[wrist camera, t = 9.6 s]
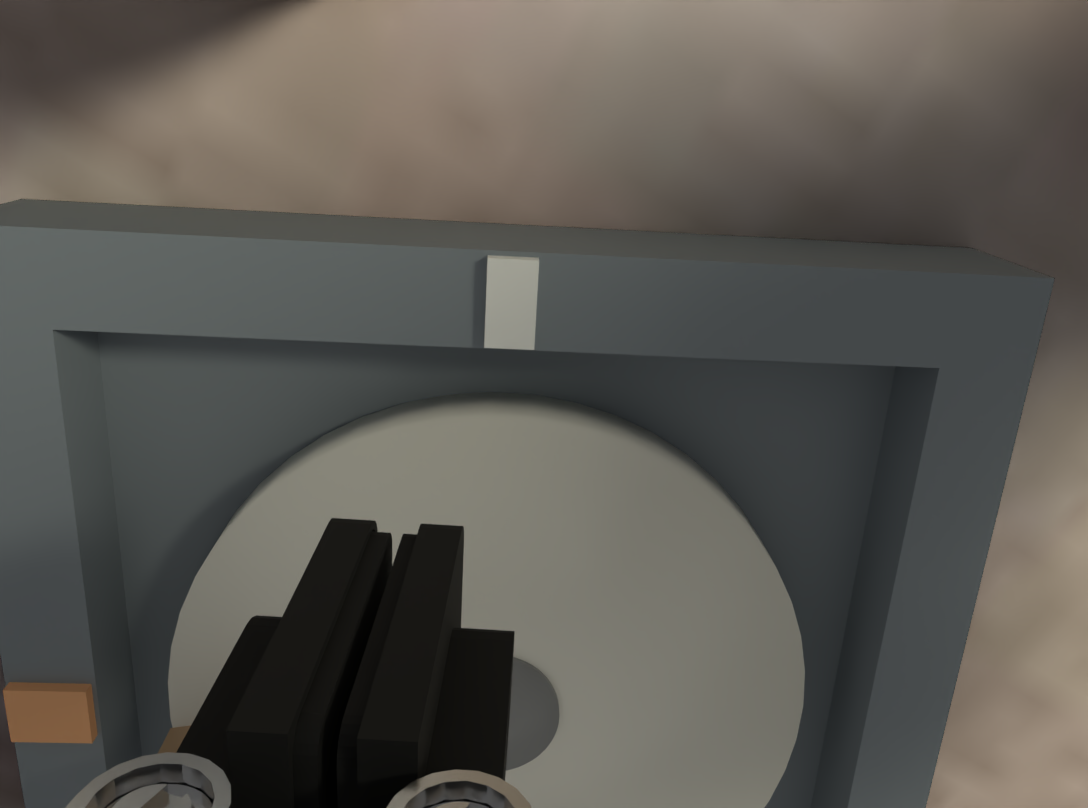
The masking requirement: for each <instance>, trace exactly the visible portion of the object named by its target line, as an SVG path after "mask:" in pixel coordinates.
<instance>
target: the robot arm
mask: <svg viewBox="0 0 1088 808" xmlns="http://www.w3.org/2000/svg"><path fill="white" fill-rule="evenodd" d="M463 555H464V527H463V526H454V525H438V524H420V527H419V530H418V533H417V534H403V535H402V538H401V541H400V544H399V547H398V550H397V553H396V556H395V559H394V562H393V566H392V535H391V533H386V532H378V530H377V523H376V521H373V520H357V519H341V518H331V520H330V521H329V523H328V525H327V527H326V529H325V531H324V533H323V535H322V537H321V539H320V541H319V543H318V545H317V547H316V549H315V551H314V553H313V555H312V557H311V559H310V561H309V563H308V565H307V567H306V569H305V572H304V574H303V576H302V578H301V580H300V582H299V584H298V586H297V588H296V590H295V592H294V594H293V596H292V598H291V600H290V602H289V604H288V606H287V608H286V610H285V612H284V614H283V616H282V617H275V616H258V615H256V616H254V617H252V618H251V619H250V620H249V622H248V623H247V624H246V626H245V628H244V630H243V632H242V633H241V635H240V637H239V639H238V641H237V643H236V644H235V646H234V648H233V650H232V652H231V654H230V655H229V657H228V659H227V661H226V663H225V664H224V666H223V668H222V670H221V672H220V674H219V675H218V677H217V679H216V681H215V683H214V684H213V686H212V688H211V690H210V692H209V694H208V695H207V697H206V699H205V701H204V703H203V705H202V706H201V708H200V710H199V712H198V714H197V715H196V717H195V719H194V721H193V723H192V725H191V726H190V728H189V730H188V732H187V734H186V735H185V737H184V739H183V741H182V743H181V745H180V746H179V748H178V750H177V752H176V753H171V752H165V753H159V754H153V755H146V756H141V757H138V758H135V759H133V760H130V761H127V762H124V763H121V764H118V765H116V766H115V767H113V768H111V769H109V770H108V771H106V772H104V773H103V774H101V775H99V776H97V777H96V778H94V779H93V780H92V781H91V782H90V783H89V784H88V785H87V786H86V787H84V788H83V789H82V790H81V791H80V792H79V793H78V794H77V795H76V796H75V797H74V798H73V799H72V801H71V802H70V803H69V804H68V805H67V806H66V807H65V808H531V805H530V803H529V802H528V801H527V800H526V799H525V797H524V796H523V795H522V794H521V793H520V792H519V790H518V789H517V788H515V787H514V786H512V785H510V784H509V783H507V782H506V781H505V775H506V762H507V748H508V734H509V719H510V703H511V687H512V670H513V653H514V635H515V631H505V630H488V629H472V628H461V613H462V584H463Z"/></svg>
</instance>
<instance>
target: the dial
mask: <svg viewBox="0 0 1088 808" xmlns="http://www.w3.org/2000/svg"><path fill="white" fill-rule="evenodd" d="M331 518H341V519H357V520H373V521H376V523H377V530H378V532H386V533H391V535H392V566H393V562H394V559H395V556H396V553H397V550H398V547H399V544H400V541H401V538H402V535H403V534H417V533H418V530H419V527H420V524H438V525H454V526H463V527H464V555H463V584H462V613H461V628H472V629H488V630H505V631H515V635H514V653H513V670H512V687H511V703H510V719H509V734H508V748H507V762H506V775H505V781H506V782H507V783H509V784H510V785H512V786H514V787H515V788H517V789H518V790H519V792H520V793H521V794H522V795H523V796H524V797H525V799H526V800H527V801H528V802H529V803H530V805H531V808H764V807H765V806H766V805H767V803H768V802H769V800H770V798H771V796H772V795H773V793H774V791H775V789H776V787H777V785H778V783H779V781H780V779H781V778H782V776H783V774H784V772H785V770H786V767H787V764H788V761H789V759H790V756H791V753H792V750H793V747H794V745H795V742H796V739H797V734H798V729H799V725H800V720H801V715H802V710H803V702H804V681H805V667H804V657H803V648H802V639H801V634H800V630H799V626H798V623H797V619H796V615H795V612H794V608H793V604H792V601H791V599H790V597H789V594H788V592H787V590H786V588H785V586H784V583H783V581H782V579H781V577H780V574H779V572H778V570H777V568H776V566H775V564H774V563H773V561H772V559H771V557H770V555H769V554H768V552H767V550H766V548H765V546H764V545H763V543H762V541H761V539H760V538H759V536H758V534H757V533H756V531H755V530H754V528H753V527H752V525H751V524H750V522H749V520H748V519H747V517H746V516H745V514H744V513H743V511H742V510H741V508H740V507H739V506H738V504H737V503H736V502H735V501H734V500H733V499H732V498H731V496H730V495H729V494H728V493H727V492H726V491H725V490H724V488H723V487H722V486H721V485H720V484H719V483H718V482H717V481H716V479H715V478H713V477H712V476H711V475H710V474H709V473H708V472H706V471H705V470H704V469H703V468H702V467H701V466H699V465H698V464H697V463H696V462H695V461H694V460H692V459H691V458H690V457H689V456H688V455H687V454H685V453H684V452H682V451H680V450H679V449H677V448H676V447H674V446H673V445H671V444H670V443H668V442H666V441H665V440H663V439H662V438H660V437H659V436H657V435H655V434H654V433H652V432H650V431H648V430H646V429H644V428H642V427H639V426H637V425H635V424H633V423H631V422H629V421H627V420H625V419H622V418H620V417H618V416H616V415H613V414H610V413H607V412H604V411H601V410H597V409H594V408H591V407H588V406H585V405H582V404H579V403H575V402H570V401H565V400H559V399H554V398H549V397H543V396H538V395H531V394H514V393H496V392H484V393H468V394H453V395H443V396H438V397H433V398H428V399H423V400H417V401H412V402H407V403H403V404H399V405H396V406H393V407H390V408H387V409H384V410H381V411H378V412H375V413H372V414H369V415H366V416H363V417H361V418H359V419H356V420H354V421H352V422H350V423H348V424H346V425H344V426H342V427H340V428H338V429H336V430H333V431H331V432H329V433H327V434H325V435H323V436H322V437H320V438H319V439H317V440H316V441H314V442H313V443H311V444H310V445H308V446H307V447H305V448H303V449H302V450H300V451H299V452H297V453H296V454H294V455H293V456H291V457H290V458H289V459H288V460H286V461H285V462H284V463H283V464H282V465H281V466H279V467H278V468H277V469H276V470H275V471H274V472H273V473H271V474H270V475H269V476H268V477H267V478H266V479H265V480H263V481H262V482H261V483H260V484H259V485H258V486H257V488H256V489H255V490H254V491H253V492H252V493H251V495H250V496H249V497H248V498H247V499H246V500H245V501H244V503H243V504H242V505H241V506H240V507H239V508H238V510H237V511H236V512H235V513H234V515H233V516H232V518H231V520H230V521H229V523H228V524H227V526H226V528H225V529H224V531H223V532H222V534H221V535H220V537H219V539H218V540H217V542H216V543H215V545H214V547H213V548H212V550H211V551H210V553H209V555H208V556H207V558H206V560H205V561H204V563H203V565H202V566H201V568H200V570H199V571H198V573H197V574H196V576H195V578H194V581H193V583H192V585H191V588H190V590H189V592H188V594H187V597H186V599H185V601H184V604H183V606H182V608H181V611H180V614H179V618H178V622H177V626H176V630H175V634H174V637H173V641H172V645H171V653H170V664H169V675H168V692H169V707H170V719H171V723H172V727H173V728H170V730H169V732H168V734H167V736H166V738H165V740H164V742H163V744H162V746H161V748H160V750H159V752H158V754H159V753H165V752H171V753H176V752H177V750H178V748H179V746H180V745H181V743H182V741H183V739H184V737H185V735H186V734H187V732H188V730H189V728H190V726H191V725H192V723H193V721H194V719H195V717H196V715H197V714H198V712H199V710H200V708H201V706H202V705H203V703H204V701H205V699H206V697H207V695H208V694H209V692H210V690H211V688H212V686H213V684H214V683H215V681H216V679H217V677H218V675H219V674H220V672H221V670H222V668H223V666H224V664H225V663H226V661H227V659H228V657H229V655H230V654H231V652H232V650H233V648H234V646H235V644H236V643H237V641H238V639H239V637H240V635H241V633H242V632H243V630H244V628H245V626H246V624H247V623H248V622H249V620H250V619H251V618H252V617H254V616H256V615H258V616H275V617H282V616H283V614H284V612H285V610H286V608H287V606H288V604H289V602H290V600H291V598H292V596H293V594H294V592H295V590H296V588H297V586H298V584H299V582H300V580H301V578H302V576H303V574H304V572H305V569H306V567H307V565H308V563H309V561H310V559H311V557H312V555H313V553H314V551H315V549H316V547H317V545H318V543H319V541H320V539H321V537H322V535H323V533H324V531H325V529H326V527H327V525H328V523H329V521H330V520H331Z"/></svg>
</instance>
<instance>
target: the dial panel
mask: <svg viewBox="0 0 1088 808" xmlns="http://www.w3.org/2000/svg"><path fill="white" fill-rule="evenodd" d="M1054 279H1055V278H1052V277H1050V276H1047V275H1044V274H1042V273H1039V272H1036V271H1033V270H1031V269H1028V268H1025V267H1022V266H1020V265H1017V264H1014V263H1011V262H1009V261H1006V260H1003V259H1001V258H998V257H995V256H992V255H990V254H987V253H984V252H981V251H979V250H976V249H973V248H961V247H941V246H922V245H903V244H883V243H864V242H844V241H825V240H806V239H786V238H767V237H747V236H728V235H709V234H689V233H670V232H651V231H631V230H612V229H592V228H573V227H554V226H534V225H515V224H495V223H476V222H457V221H437V220H418V219H399V218H379V217H360V216H340V215H321V214H302V213H282V212H263V211H243V210H224V209H205V208H185V207H166V206H147V205H127V204H108V203H88V202H69V201H50V200H30V199H20V200H16V201H12V202H8V203H4V204H0V655H1V661H2V668H3V674H4V680H5V686H6V687H5V688H4V689H3V696H4V702H5V708H6V714H7V720H8V726H9V733H10V739H11V742H15V748H16V755H17V761H18V767H19V773H20V779H21V786H22V792H23V798H24V804H25V808H65V807H66V806H67V805H68V804H69V803H70V802H71V801H72V799H73V798H74V797H75V796H76V795H77V794H78V793H79V792H80V791H81V790H82V789H83V788H84V787H86V786H87V785H88V784H89V783H90V782H91V781H92V780H93V779H94V778H96V777H97V776H99V775H101V774H103V773H104V772H106V771H108V770H109V769H111V768H113V767H115V766H116V765H118V764H121V763H124V762H127V761H130V760H133V759H135V758H138V757H141V756H146V755H153V754H158V752H159V750H160V748H161V746H162V744H163V742H164V740H165V738H166V736H167V734H168V732H169V730H170V728H173V727H172V723H171V719H170V707H169V692H168V675H169V664H170V653H171V645H172V641H173V637H174V634H175V630H176V626H177V622H178V618H179V614H180V611H181V608H182V606H183V604H184V601H185V599H186V597H187V594H188V592H189V590H190V588H191V585H192V583H193V581H194V578H195V576H196V574H197V573H198V571H199V570H200V568H201V566H202V565H203V563H204V561H205V560H206V558H207V556H208V555H209V553H210V551H211V550H212V548H213V547H214V545H215V543H216V542H217V540H218V539H219V537H220V535H221V534H222V532H223V531H224V529H225V528H226V526H227V524H228V523H229V521H230V520H231V518H232V516H233V515H234V513H235V512H236V511H237V510H238V508H239V507H240V506H241V505H242V504H243V503H244V501H245V500H246V499H247V498H248V497H249V496H250V495H251V493H252V492H253V491H254V490H255V489H256V488H257V486H258V485H259V484H260V483H261V482H262V481H263V480H265V479H266V478H267V477H268V476H269V475H270V474H271V473H273V472H274V471H275V470H276V469H277V468H278V467H279V466H281V465H282V464H283V463H284V462H285V461H286V460H288V459H289V458H290V457H291V456H293V455H294V454H296V453H297V452H299V451H300V450H302V449H303V448H305V447H307V446H308V445H310V444H311V443H313V442H314V441H316V440H317V439H319V438H320V437H322V436H323V435H325V434H327V433H329V432H331V431H333V430H336V429H338V428H340V427H342V426H344V425H346V424H348V423H350V422H352V421H354V420H356V419H359V418H361V417H363V416H366V415H369V414H372V413H375V412H378V411H381V410H384V409H387V408H390V407H393V406H396V405H399V404H403V403H407V402H412V401H417V400H423V399H428V398H433V397H438V396H443V395H453V394H468V393H484V392H496V393H514V394H531V395H538V396H543V397H549V398H554V399H559V400H565V401H570V402H575V403H579V404H582V405H585V406H588V407H591V408H594V409H597V410H601V411H604V412H607V413H610V414H613V415H616V416H618V417H620V418H622V419H625V420H627V421H629V422H631V423H633V424H635V425H637V426H639V427H642V428H644V429H646V430H648V431H650V432H652V433H654V434H655V435H657V436H659V437H660V438H662V439H663V440H665V441H666V442H668V443H670V444H671V445H673V446H674V447H676V448H677V449H679V450H680V451H682V452H684V453H685V454H687V455H688V456H689V457H690V458H691V459H692V460H694V461H695V462H696V463H697V464H698V465H699V466H701V467H702V468H703V469H704V470H705V471H706V472H708V473H709V474H710V475H711V476H712V477H713V478H715V479H716V481H717V482H718V483H719V484H720V485H721V486H722V487H723V488H724V490H725V491H726V492H727V493H728V494H729V495H730V496H731V498H732V499H733V500H734V501H735V502H736V503H737V504H738V506H739V507H740V508H741V510H742V511H743V513H744V514H745V516H746V517H747V519H748V520H749V522H750V524H751V525H752V527H753V528H754V530H755V531H756V533H757V534H758V536H759V538H760V539H761V541H762V543H763V545H764V546H765V548H766V550H767V552H768V554H769V555H770V557H771V559H772V561H773V563H774V564H775V566H776V568H777V570H778V572H779V574H780V577H781V579H782V581H783V583H784V586H785V588H786V590H787V592H788V594H789V597H790V599H791V601H792V604H793V608H794V612H795V615H796V619H797V623H798V626H799V630H800V634H801V639H802V648H803V657H804V667H805V681H804V702H803V710H802V715H801V720H800V725H799V729H798V734H797V739H796V742H795V745H794V747H793V750H792V753H791V756H790V759H789V761H788V764H787V767H786V770H785V772H784V774H783V776H782V778H781V779H780V781H779V783H778V785H777V787H776V789H775V791H774V793H773V795H772V796H771V798H770V800H769V802H768V803H767V805H766V806H765V807H764V808H926V804H927V799H928V795H929V791H930V787H931V783H932V779H933V775H934V771H935V767H936V763H937V759H938V754H939V750H940V746H941V742H942V738H943V734H944V730H945V726H946V722H947V718H948V713H949V709H950V705H951V701H952V697H953V693H954V689H955V685H956V681H957V677H958V673H959V668H960V664H961V660H962V656H963V652H964V648H965V644H966V640H967V636H968V632H969V627H970V623H971V619H972V615H973V611H974V607H975V603H976V599H977V595H978V591H979V587H980V582H981V578H982V574H983V570H984V566H985V562H986V558H987V554H988V550H989V546H990V541H991V537H992V533H993V529H994V525H995V521H996V517H997V513H998V509H999V505H1000V501H1001V496H1002V492H1003V488H1004V484H1005V480H1006V476H1007V472H1008V468H1009V464H1010V460H1011V455H1012V451H1013V447H1014V443H1015V439H1016V435H1017V431H1018V427H1019V423H1020V419H1021V415H1022V410H1023V406H1024V402H1025V398H1026V394H1027V390H1028V386H1029V382H1030V378H1031V374H1032V369H1033V365H1034V361H1035V357H1036V353H1037V349H1038V345H1039V341H1040V337H1041V333H1042V329H1043V324H1044V320H1045V316H1046V312H1047V308H1048V304H1049V300H1050V296H1051V292H1052V288H1053V283H1054Z"/></svg>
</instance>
